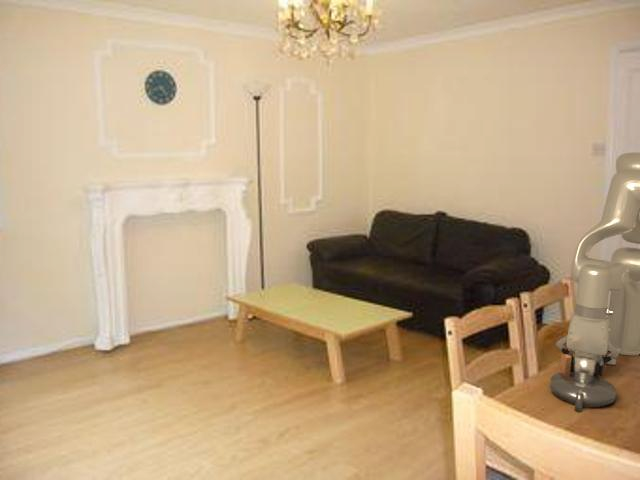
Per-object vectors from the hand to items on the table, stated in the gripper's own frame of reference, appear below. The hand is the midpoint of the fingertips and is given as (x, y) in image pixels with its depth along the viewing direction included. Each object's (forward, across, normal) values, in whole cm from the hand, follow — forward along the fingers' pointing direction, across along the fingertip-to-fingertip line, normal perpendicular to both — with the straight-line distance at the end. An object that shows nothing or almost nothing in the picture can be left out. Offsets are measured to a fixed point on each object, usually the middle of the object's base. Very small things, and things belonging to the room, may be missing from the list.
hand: (583, 374), depth 159 cm
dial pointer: (+1, 0, +22) cm, 22 cm away
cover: (+1, 0, 0) cm, 1 cm away
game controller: (+2, -4, -12) cm, 13 cm away
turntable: (0, 0, +13) cm, 13 cm away
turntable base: (+1, 0, +13) cm, 13 cm away
